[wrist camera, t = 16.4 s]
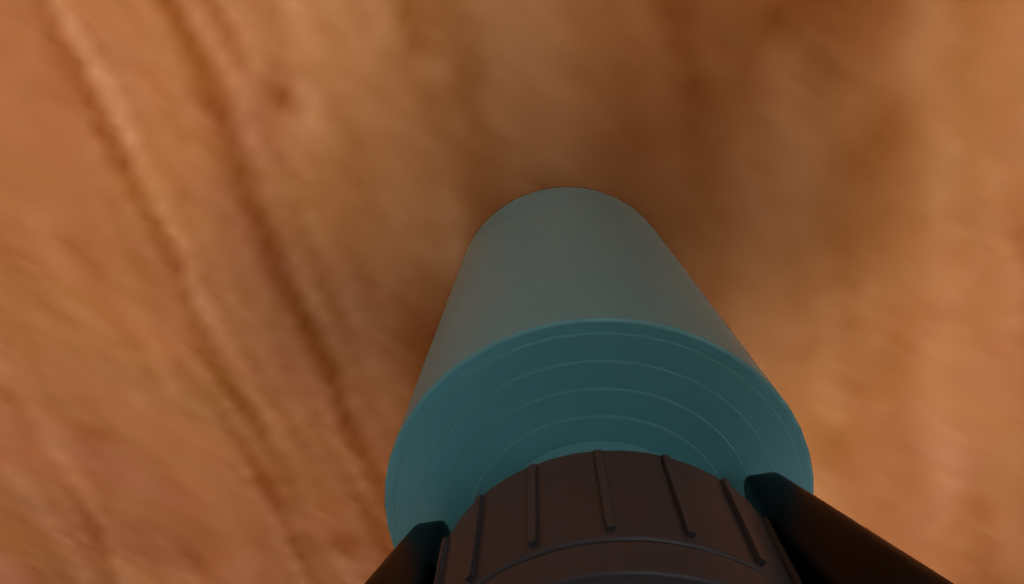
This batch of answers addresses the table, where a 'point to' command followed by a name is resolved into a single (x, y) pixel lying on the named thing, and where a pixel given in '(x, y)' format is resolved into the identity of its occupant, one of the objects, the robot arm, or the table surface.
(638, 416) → the bottle
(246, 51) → the table surface
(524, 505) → the cap
